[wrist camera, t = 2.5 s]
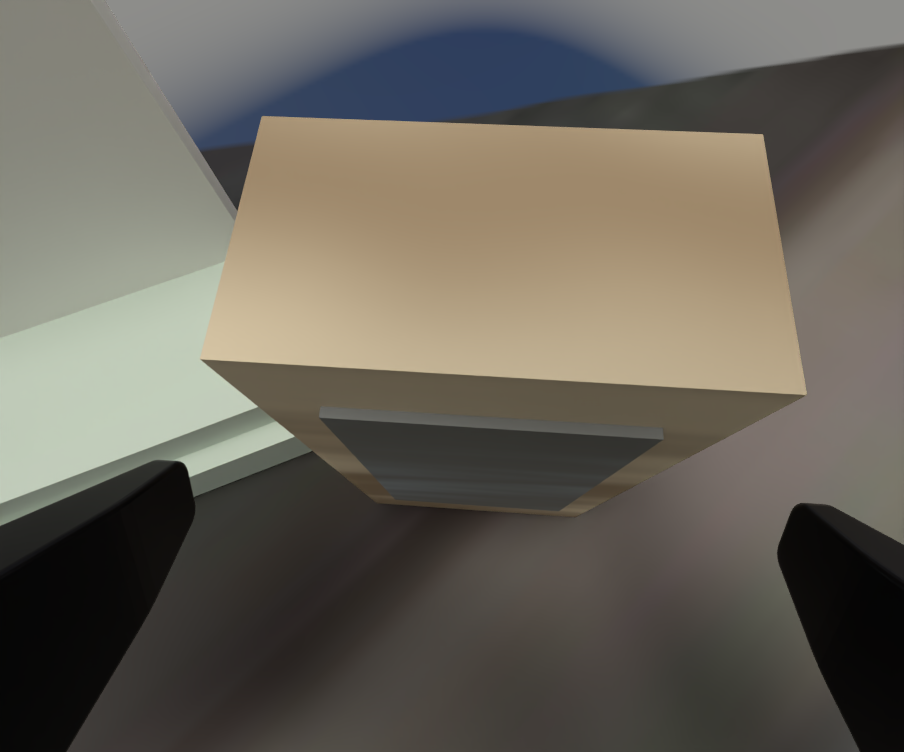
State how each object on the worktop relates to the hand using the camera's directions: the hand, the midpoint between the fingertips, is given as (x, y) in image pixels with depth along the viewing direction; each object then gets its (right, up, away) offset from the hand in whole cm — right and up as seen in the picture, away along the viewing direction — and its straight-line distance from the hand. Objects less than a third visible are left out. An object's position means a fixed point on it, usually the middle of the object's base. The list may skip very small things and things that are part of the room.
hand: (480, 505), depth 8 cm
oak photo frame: (0, -1, +10) cm, 10 cm away
